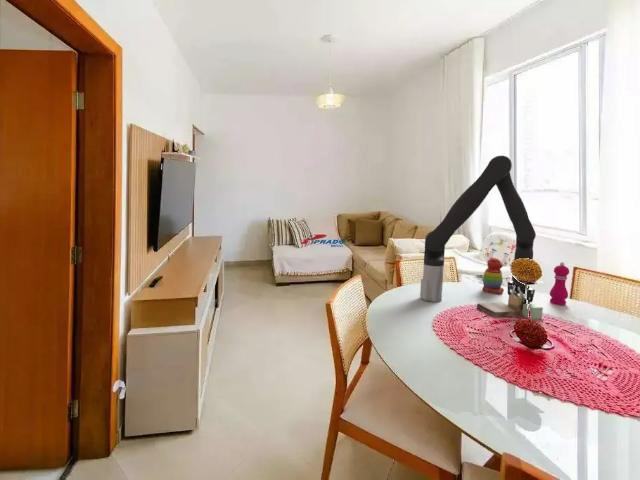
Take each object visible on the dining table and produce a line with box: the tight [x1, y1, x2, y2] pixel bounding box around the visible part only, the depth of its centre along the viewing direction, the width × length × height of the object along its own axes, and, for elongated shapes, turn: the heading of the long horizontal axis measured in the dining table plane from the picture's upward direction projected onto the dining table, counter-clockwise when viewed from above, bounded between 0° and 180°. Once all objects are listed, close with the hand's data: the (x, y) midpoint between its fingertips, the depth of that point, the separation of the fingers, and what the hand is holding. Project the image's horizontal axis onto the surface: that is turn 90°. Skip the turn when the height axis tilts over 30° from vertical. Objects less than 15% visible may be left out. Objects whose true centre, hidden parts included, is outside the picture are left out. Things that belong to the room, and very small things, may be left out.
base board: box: [476, 301, 521, 318], centre depth 153 cm, size 12×12×2 cm
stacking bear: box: [482, 257, 504, 295], centre depth 184 cm, size 11×10×18 cm
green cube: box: [521, 303, 544, 320], centre depth 146 cm, size 5×5×5 cm
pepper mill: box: [549, 261, 570, 306], centre depth 164 cm, size 7×7×20 cm
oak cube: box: [507, 294, 531, 313], centre depth 155 cm, size 6×6×6 cm
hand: (518, 307), depth 155 cm, fingers closed on oak cube, 6 cm apart
